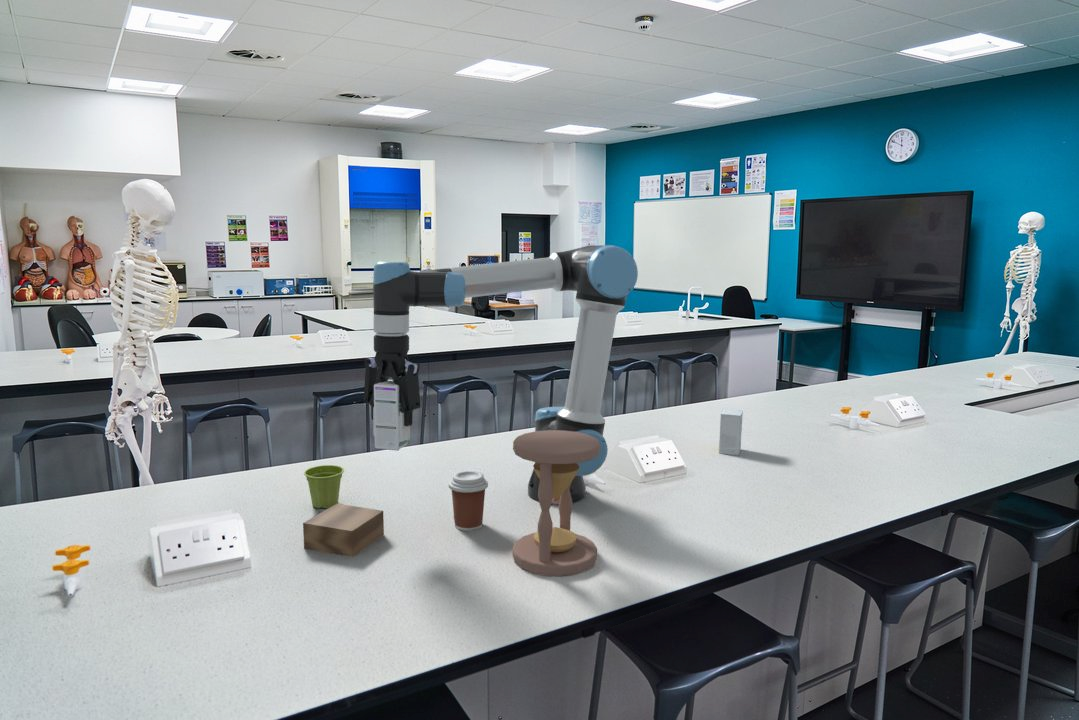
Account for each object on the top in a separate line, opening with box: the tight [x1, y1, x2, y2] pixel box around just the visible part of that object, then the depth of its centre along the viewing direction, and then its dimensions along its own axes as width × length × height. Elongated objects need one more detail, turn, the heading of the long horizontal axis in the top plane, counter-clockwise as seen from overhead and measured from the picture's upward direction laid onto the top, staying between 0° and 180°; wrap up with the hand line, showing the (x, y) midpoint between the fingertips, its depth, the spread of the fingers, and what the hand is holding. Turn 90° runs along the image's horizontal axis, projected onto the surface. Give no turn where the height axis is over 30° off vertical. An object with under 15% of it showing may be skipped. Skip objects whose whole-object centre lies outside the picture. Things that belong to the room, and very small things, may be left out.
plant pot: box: [303, 464, 345, 509], centre depth 172 cm, size 9×9×9 cm
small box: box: [718, 408, 744, 456], centre depth 222 cm, size 8×6×13 cm
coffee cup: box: [448, 470, 489, 532], centre depth 160 cm, size 9×9×12 cm
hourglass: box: [511, 430, 600, 577], centre depth 142 cm, size 18×18×25 cm
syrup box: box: [373, 379, 410, 452], centre depth 152 cm, size 6×6×14 cm
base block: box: [302, 503, 385, 558], centre depth 150 cm, size 12×12×6 cm
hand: (391, 437), depth 153 cm, fingers closed on syrup box, 7 cm apart
